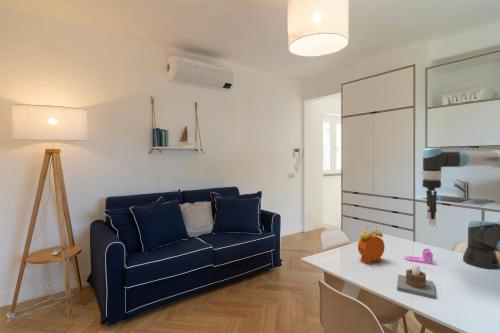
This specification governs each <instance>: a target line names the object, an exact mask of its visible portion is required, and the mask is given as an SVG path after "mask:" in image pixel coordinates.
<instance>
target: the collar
mask: <svg viewBox="0 0 500 333" xmlns="http://www.w3.org/2000/svg"><path fill="white" fill-rule="evenodd" d="M405 276H406V284H408V285H410V286H411V287H416V288H425V286H426V280H427V275H426V273H425V272H423V271H421V270H420V276H417V275H413V274H412V268H410V269H406V271H405Z"/></svg>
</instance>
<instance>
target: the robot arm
mask: <svg viewBox="0 0 500 333" xmlns="http://www.w3.org/2000/svg"><path fill="white" fill-rule="evenodd" d="M466 166H468V167H469V166H470V167H471V166H474V167H476V166H477V167H478V166H479V167H480V166H481V167H482V166H483V167H484V166H486V167H487V166H488V167H492V168H496V169H498V168H500V149H493V150H491V151H482V150H481V151H460V150H459V151H454V150H453V151H443V149H442V148H441V147H426V148H424V149H423V152H422V172H420V173H421V175H422V178H423V179H422V187H423V188H427V190H426V219H427V220H428V226H432V227H436V226H437V211H438V210H437V194H438V192H437V191H436V189H440V188H441V187H442V181H441V179H442V168H462V167H466ZM497 253H499V254H500V220H499V221H496V222H495V221H488V220H486V221H485V220H470V221H469V222H468V226H467V247H466V249H465V251H464V253H463V255H462V261H463V262H465V263H466V264H469V265H471V266H474V267H476V268H477V267H478V268H482V269H488V270H491V269H492V270H496V269H499V268H500V261H499V258H498V254H497Z"/></svg>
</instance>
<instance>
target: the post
mask: <svg viewBox="0 0 500 333" xmlns="http://www.w3.org/2000/svg"><path fill="white" fill-rule="evenodd" d="M411 269H412V274H413V275H417V276H420V271H421V267H420V265H416V264H415V265H414V264H412V266H411ZM396 290H397V291H399V292H404V293H408V294H413V295H416V296H417V295H418V296H421V297H427V298H430V299H434V300H436V296H437V294H436V290H435V285H434V281H433V280H429V279H428V280H427V279H426V286H425V288H416V287H411V286H410V285H408V284H406V275H403V274H398V276H397V285H396Z"/></svg>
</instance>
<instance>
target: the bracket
mask: <svg viewBox="0 0 500 333" xmlns="http://www.w3.org/2000/svg"><path fill="white" fill-rule="evenodd" d="M433 258H434V255H433V253H432V251H431V249H430V248H428V247H425V248H423V249H422V257H421V256H413V255H404V257H403V259H404V260H405V261H407V262H413V263H419V264H425V265H427V264H428V265H433V262H434V261H433Z"/></svg>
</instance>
